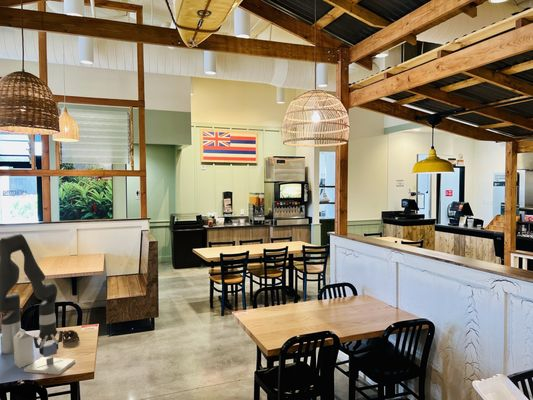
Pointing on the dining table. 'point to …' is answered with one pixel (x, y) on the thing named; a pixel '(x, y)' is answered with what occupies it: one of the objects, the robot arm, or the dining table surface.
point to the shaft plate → (49, 365)
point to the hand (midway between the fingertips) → (49, 352)
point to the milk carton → (23, 348)
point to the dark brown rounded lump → (72, 335)
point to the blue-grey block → (49, 349)
